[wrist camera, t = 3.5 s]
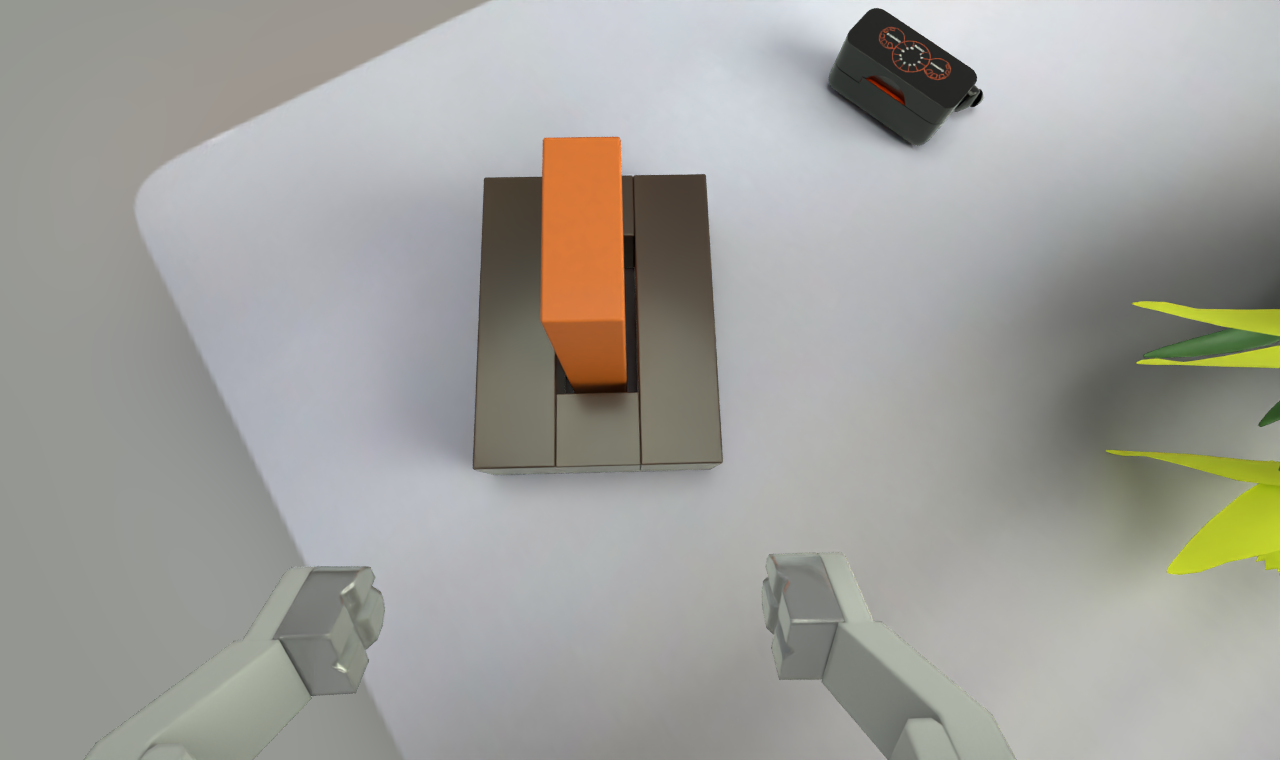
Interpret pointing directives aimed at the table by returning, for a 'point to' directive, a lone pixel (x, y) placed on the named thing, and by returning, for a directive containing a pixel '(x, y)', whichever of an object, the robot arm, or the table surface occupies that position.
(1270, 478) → the daffodil flowers
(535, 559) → the table surface
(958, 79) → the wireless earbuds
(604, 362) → the orange rectangular block
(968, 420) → the table surface
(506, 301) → the holder
